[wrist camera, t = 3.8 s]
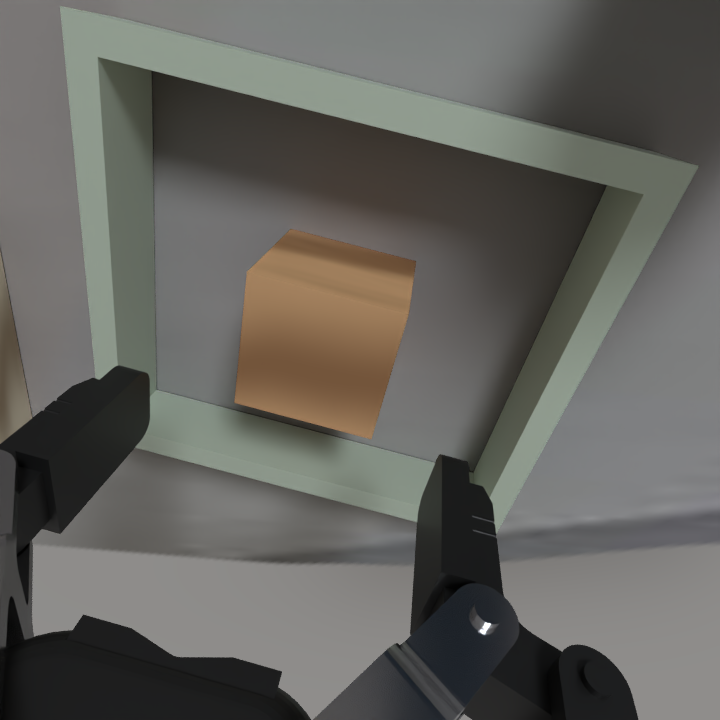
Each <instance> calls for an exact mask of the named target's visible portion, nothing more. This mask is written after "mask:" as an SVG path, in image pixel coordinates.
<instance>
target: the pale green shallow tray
mask: <svg viewBox="0 0 720 720" xmlns="http://www.w3.org/2000/svg"><path fill="white" fill-rule="evenodd" d="M60 11H61V22H62V32H63V42H64V53H65V63H66V74H67V84H68V95H69V105H70V115H71V126H72V136H73V147H74V157H75V168H76V178H77V188H78V199H79V209H80V220H81V230H82V241H83V251H84V262H85V272H86V282H87V293H88V303H89V314H90V324H91V335H92V345H93V355H94V366H95V376H96V379H99V380H100V379H101V378H102V377H103V376H104V375H106V374H107V373H108V372H109V371H110V370H111V369H113V368H114V367H115V366H118V365H120V366H124V367H128V368H132V369H135V370H139V371H142V372H146V373H148V375H149V378H150V422H149V426H148V429H147V431H146V433H145V435H144V437H143V438H142V440H141V441H140V442H139V443H138V444H137V446H136V447H135V448H138V449H142V450H146V451H150V452H153V453H157V454H161V455H165V456H169V457H172V458H176V459H180V460H184V461H187V462H191V463H195V464H199V465H203V466H206V467H210V468H214V469H218V470H221V471H225V472H229V473H233V474H237V475H240V476H244V477H248V478H252V479H255V480H259V481H263V482H267V483H271V484H274V485H278V486H282V487H286V488H289V489H293V490H297V491H301V492H305V493H308V494H312V495H316V496H320V497H323V498H327V499H331V500H335V501H339V502H342V503H346V504H350V505H354V506H357V507H361V508H365V509H369V510H373V511H376V512H380V513H384V514H388V515H391V516H395V517H399V518H403V519H407V520H410V521H414V522H417V518H418V510H419V505H420V501H421V498H422V495H423V492H424V490H425V487H426V485H427V482H428V480H429V477H430V475H431V472H432V470H433V467H434V465H435V463H434V462H430V461H426V460H422V459H418V458H415V457H411V456H407V455H403V454H399V453H396V452H392V451H388V450H384V449H380V448H377V447H373V446H369V445H365V444H361V443H358V442H354V441H350V440H346V439H342V438H338V437H335V436H331V435H327V434H323V433H319V432H316V431H312V430H308V429H304V428H300V427H297V426H293V425H289V424H285V423H281V422H278V421H274V420H270V419H266V418H262V417H259V416H255V415H251V414H247V413H243V412H239V411H236V410H232V409H228V408H224V407H220V406H217V405H213V404H209V403H205V402H201V401H198V400H194V399H190V398H186V397H182V396H179V395H175V394H171V393H167V392H163V391H160V390H157V388H156V322H155V255H154V189H153V123H152V71H156V72H160V73H164V74H168V75H172V76H176V77H180V78H184V79H188V80H192V81H196V82H200V83H204V84H207V85H211V86H215V87H219V88H223V89H227V90H231V91H235V92H239V93H243V94H247V95H251V96H255V97H259V98H263V99H267V100H271V101H275V102H279V103H283V104H287V105H291V106H295V107H299V108H303V109H307V110H311V111H315V112H319V113H323V114H327V115H331V116H335V117H338V118H342V119H346V120H350V121H354V122H358V123H362V124H366V125H370V126H374V127H378V128H382V129H386V130H390V131H394V132H398V133H402V134H406V135H410V136H414V137H418V138H422V139H426V140H430V141H434V142H438V143H442V144H446V145H450V146H454V147H458V148H462V149H466V150H469V151H473V152H477V153H481V154H485V155H489V156H493V157H497V158H501V159H505V160H509V161H513V162H517V163H521V164H525V165H529V166H533V167H537V168H541V169H545V170H549V171H553V172H557V173H561V174H565V175H569V176H573V177H577V178H581V179H585V180H589V181H593V182H597V183H601V184H604V185H607V187H606V189H605V191H604V193H603V195H602V197H601V200H600V202H599V204H598V206H597V208H596V210H595V212H594V215H593V217H592V219H591V221H590V223H589V225H588V228H587V230H586V232H585V234H584V236H583V238H582V240H581V243H580V245H579V247H578V249H577V251H576V253H575V255H574V258H573V260H572V262H571V264H570V266H569V268H568V270H567V273H566V275H565V277H564V279H563V281H562V283H561V286H560V288H559V290H558V292H557V294H556V296H555V298H554V301H553V303H552V305H551V307H550V309H549V311H548V313H547V316H546V318H545V320H544V322H543V324H542V326H541V329H540V331H539V333H538V335H537V337H536V339H535V341H534V344H533V346H532V348H531V350H530V352H529V354H528V356H527V359H526V361H525V363H524V365H523V367H522V369H521V372H520V374H519V376H518V378H517V380H516V382H515V384H514V387H513V389H512V391H511V393H510V395H509V397H508V399H507V402H506V404H505V406H504V408H503V410H502V412H501V414H500V417H499V419H498V421H497V423H496V425H495V427H494V430H493V432H492V434H491V436H490V438H489V440H488V442H487V445H486V447H485V449H484V451H483V453H482V455H481V457H480V460H479V462H478V464H477V466H476V468H475V470H474V473H472V472H469V479H470V483H473V484H476V485H480V486H483V487H484V489H485V491H486V493H487V494H488V496H489V498H490V500H491V501H492V503H493V511H494V520H495V521H494V524H495V528H496V534H497V532H498V530H499V528H500V526H501V525H502V523H503V521H504V519H505V517H506V516H507V514H508V512H509V510H510V508H511V506H512V505H513V503H514V501H515V499H516V497H517V496H518V494H519V492H520V490H521V488H522V486H523V485H524V483H525V481H526V479H527V477H528V476H529V474H530V472H531V470H532V468H533V467H534V465H535V463H536V461H537V459H538V457H539V456H540V454H541V452H542V450H543V448H544V447H545V445H546V443H547V441H548V439H549V438H550V436H551V434H552V432H553V430H554V428H555V427H556V425H557V423H558V421H559V419H560V418H561V416H562V414H563V412H564V410H565V409H566V407H567V405H568V403H569V401H570V399H571V398H572V396H573V394H574V392H575V390H576V389H577V387H578V385H579V383H580V381H581V380H582V378H583V376H584V374H585V372H586V370H587V369H588V367H589V365H590V363H591V361H592V360H593V358H594V356H595V354H596V352H597V351H598V349H599V347H600V345H601V343H602V341H603V340H604V338H605V336H606V334H607V332H608V331H609V329H610V327H611V325H612V323H613V322H614V320H615V318H616V316H617V314H618V312H619V311H620V309H621V307H622V305H623V303H624V302H625V300H626V298H627V296H628V294H629V293H630V291H631V289H632V287H633V285H634V283H635V282H636V280H637V278H638V276H639V274H640V273H641V271H642V269H643V267H644V265H645V264H646V262H647V260H648V258H649V256H650V254H651V253H652V251H653V249H654V247H655V245H656V244H657V242H658V240H659V238H660V236H661V235H662V233H663V231H664V229H665V227H666V225H667V224H668V222H669V220H670V218H671V216H672V215H673V213H674V211H675V209H676V207H677V205H678V204H679V202H680V200H681V198H682V196H683V195H684V193H685V191H686V189H687V187H688V186H689V184H690V182H691V180H692V178H693V176H694V175H695V173H696V171H697V169H698V167H699V166H697V165H694V164H691V163H688V162H685V161H682V160H679V159H676V158H673V157H670V156H667V155H664V154H661V153H658V152H654V151H650V150H646V149H642V148H638V147H634V146H630V145H626V144H622V143H618V142H614V141H610V140H606V139H602V138H598V137H594V136H590V135H586V134H582V133H578V132H574V131H570V130H566V129H562V128H558V127H554V126H550V125H546V124H542V123H538V122H534V121H530V120H526V119H522V118H518V117H514V116H510V115H506V114H502V113H498V112H494V111H490V110H486V109H482V108H478V107H474V106H470V105H466V104H462V103H458V102H454V101H450V100H446V99H442V98H438V97H434V96H430V95H426V94H422V93H418V92H414V91H410V90H406V89H402V88H398V87H394V86H390V85H386V84H382V83H378V82H374V81H370V80H366V79H362V78H358V77H354V76H350V75H346V74H342V73H338V72H334V71H330V70H326V69H322V68H318V67H314V66H310V65H306V64H302V63H298V62H294V61H290V60H286V59H282V58H278V57H274V56H270V55H266V54H262V53H258V52H255V51H251V50H247V49H243V48H239V47H235V46H231V45H227V44H223V43H219V42H215V41H211V40H207V39H203V38H199V37H195V36H191V35H187V34H183V33H179V32H175V31H171V30H167V29H163V28H159V27H155V26H151V25H147V24H143V23H139V22H135V21H131V20H127V19H123V18H118V17H113V16H108V15H103V14H98V13H93V12H88V11H82V10H77V9H72V8H67V7H62V6H60Z"/></svg>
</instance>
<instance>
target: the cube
mask: <svg viewBox="0 0 720 720" xmlns="http://www.w3.org/2000/svg"><path fill="white" fill-rule="evenodd" d="M415 265H416V261H413V260H409V259H405V258H401V257H397V256H394V255H390V254H386V253H382V252H378V251H374V250H370V249H367V248H363V247H359V246H355V245H351V244H347V243H343V242H340V241H336V240H332V239H328V238H324V237H320V236H316V235H313V234H309V233H305V232H301V231H297V230H293V229H290V230H289V231H288V232H287V233H286V234H285V235H284V236H283V237H282V238H281V239H280V240H279V241H278V242H277V243H276V244H275V245H274V246H273V247H272V248H271V249H270V250H269V251H268V252H267V253H266V254H265V255H264V256H263V257H262V258H261V259H260V260H259V261H258V262H257V263H256V264H255V265H254V266H253V267H252V268H250V269H249V270H248V271H247V277H246V287H245V298H244V308H243V318H242V329H241V339H240V350H239V360H238V371H237V381H236V391H235V402H234V403H237V404H241V405H244V406H248V407H252V408H256V409H260V410H263V411H267V412H271V413H275V414H278V415H282V416H286V417H290V418H293V419H297V420H301V421H305V422H308V423H312V424H316V425H320V426H323V427H327V428H331V429H335V430H338V431H342V432H346V433H350V434H353V435H357V436H361V437H365V438H368V439H372V435H373V432H374V429H375V425H376V422H377V418H378V415H379V412H380V408H381V405H382V402H383V398H384V395H385V392H386V388H387V385H388V382H389V378H390V375H391V372H392V368H393V365H394V362H395V358H396V355H397V352H398V348H399V345H400V342H401V338H402V335H403V332H404V328H405V325H406V322H407V318H408V315H409V308H410V301H411V294H412V287H413V280H414V272H415Z"/></svg>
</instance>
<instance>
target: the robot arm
mask: <svg viewBox="0 0 720 720" xmlns="http://www.w3.org/2000/svg"><path fill="white" fill-rule="evenodd" d="M149 422H150V378H149V375H148V373H146V372H142V371H139V370H135V369H132V368H128V367H124V366H120V365H118V366H115V367H114V368H113V369H111V370H110V371H109V372H108V373H107V374H106V375H104V376H103V377H102V378H101V379H100V380H99V379H95V378H91V379H89V380H86V381H84V382H82V383H79V384H77V385H74V386H72V387H71V388H69V389H68V390H67V391H66V392H64V393H63V394H62V395H61V396H59V397H58V398H57V401H53V402H52V403H51V404H49V405H48V406H47V407H46V408H45V410H44V411H41V412H39V413H38V414H37V415H36V416H34V417H33V418H32V419H31V420H29V421H28V422H27V423H26V424H24V425H23V426H22V427H21V428H19V429H18V430H17V431H16V432H14V433H13V434H12V435H11V436H9V437H8V438H7V439H6V440H4V441H3V442H2V443H1V444H0V720H311V719H310V717H309V716H308V714H307V713H306V712H305V711H304V710H303V708H302V707H301V706H300V705H299V704H298V702H296V701H295V700H294V699H293V698H292V697H291V696H290V695H288V694H287V693H286V692H284V691H283V690H281V689H280V688H278V685H279V681H280V677H281V673H282V672H281V671H278V670H275V669H271V668H268V667H264V666H261V665H257V664H254V663H250V662H247V661H243V660H239V659H236V658H209V657H208V658H206V657H204V658H203V657H201V658H200V657H198V658H195V657H191V658H189V657H183V658H182V657H176V656H173V655H171V654H169V653H168V652H166V651H165V650H163V649H162V648H160V647H159V646H157V645H156V644H154V643H153V642H151V641H150V640H148V639H147V638H145V637H144V636H142V635H140V634H139V633H138V632H136V631H135V630H133V629H132V628H128V627H124V626H121V625H118V624H114V623H111V622H107V621H104V620H100V619H96V618H93V617H90V616H86V615H83V616H82V618H81V619H80V620H79V622H78V623H77V625H76V626H75V628H74V629H73V630H72V631H60V632H52V633H48V634H43V635H39V636H35V637H34V634H33V625H32V572H33V569H32V568H33V543H32V539H33V538H34V537H35V536H36V535H37V533H38V532H39V531H40V530H41V529H45V530H48V531H52V532H55V533H59V534H61V533H62V531H63V530H64V529H65V528H66V527H67V526H68V524H69V523H70V522H71V521H72V520H73V519H74V517H75V516H76V515H77V514H78V513H79V512H80V510H81V509H82V508H83V507H84V506H85V505H86V504H87V502H88V501H89V500H90V499H91V498H92V497H93V495H94V494H95V493H96V492H97V491H98V490H99V488H100V487H101V486H102V485H103V484H104V483H105V481H106V480H107V479H108V478H109V477H110V476H111V475H112V473H113V472H114V471H115V470H116V469H117V468H118V466H119V465H120V464H121V463H122V462H123V461H124V459H125V458H126V457H127V456H128V455H129V454H130V452H131V451H132V450H133V449H134V448H135V447H136V446H137V444H138V443H139V442H140V441H141V440H142V438H143V437H144V435H145V433H146V431H147V429H148V426H149ZM494 521H495V520H494V511H493V503H492V501H491V500H490V498H489V496H488V494H487V493H486V491H485V489H484V487H483V486H480V485H476V484H473V483H470V479H469V465H468V462H467V461H463V460H460V459H456V458H452V457H449V456H445V455H441V454H440V455H439V456H438V458H437V460H436V462H435V465H434V467H433V470H432V472H431V475H430V477H429V480H428V482H427V485H426V487H425V490H424V492H423V495H422V498H421V501H420V505H419V510H418V518H417V533H416V549H415V565H414V581H413V597H412V614H411V630H410V634H411V636H410V637H409V638H408V639H407V640H406V641H405V642H404V643H402V644H401V645H399V644H398V643H396V644H394V645H392V646H391V647H390V648H388V649H387V650H386V651H385V652H384V653H383V654H382V655H381V656H380V657H378V658H377V659H376V660H375V661H374V662H373V663H372V664H371V665H370V666H369V667H368V668H367V669H366V670H365V671H364V672H363V673H362V674H361V675H360V676H359V677H357V678H356V679H355V680H354V681H353V682H352V683H351V684H350V685H349V686H348V687H347V688H346V689H345V690H344V691H343V692H342V693H341V694H340V695H339V696H338V697H337V698H336V699H334V700H333V701H332V702H331V703H330V704H329V705H328V706H327V707H326V708H325V709H324V710H323V711H322V712H321V713H320V714H319V715H318V716H317V717H315V718H314V719H313V720H460V719H461V717H462V716H463V715H464V714H465V715H467V716H468V717H469V718H471V719H472V720H638V716H637V713H636V708H635V705H634V701H633V697H632V694H631V691H630V688H629V686H628V683H627V681H626V680H625V678H624V676H623V675H622V673H621V672H620V671H619V669H618V668H617V667H616V666H615V665H614V664H613V663H612V662H611V661H610V660H609V659H608V658H607V657H606V656H604V655H603V654H602V653H600V652H598V651H597V650H595V649H593V648H590V647H588V646H584V645H571V646H569V647H567V648H566V649H564V650H563V652H561V651H560V650H558V649H556V648H555V647H553V646H551V645H550V644H548V643H547V642H545V641H543V640H542V639H540V638H539V637H537V636H535V635H534V634H532V633H531V632H529V631H528V630H527V629H526V628H524V627H523V626H522V625H521V624H520V623H519V622H518V618H517V615H516V613H515V611H514V609H513V607H512V606H511V605H510V603H509V602H508V600H507V599H505V597H504V595H503V589H502V580H501V571H500V563H499V554H498V545H497V538H496V528H495V524H494Z"/></svg>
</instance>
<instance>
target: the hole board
mask: <svg viewBox="0 0 720 720" xmlns="http://www.w3.org/2000/svg"><path fill="white" fill-rule="evenodd" d="M31 419H32V414H31V409H30V404H29V398H28V393H27V388H26V383H25V377H24V372H23V367H22V362H21V356H20V351H19V346H18V341H17V335H16V330H15V325H14V320H13V314H12V309H11V304H10V299H9V293H8V288H7V283H6V278H5V272H4V267H3V262H2V257H1V251H0V444H1V443H2V442H3V441H4V440H6V439H7V438H8V437H9V436H11V435H12V434H13V433H14V432H16V431H17V430H18V429H19V428H21V427H22V426H23V425H24V424H26V423H27V422H28V421H29V420H31Z"/></svg>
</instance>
